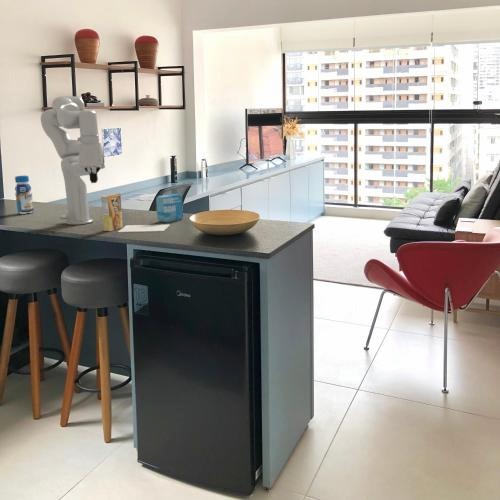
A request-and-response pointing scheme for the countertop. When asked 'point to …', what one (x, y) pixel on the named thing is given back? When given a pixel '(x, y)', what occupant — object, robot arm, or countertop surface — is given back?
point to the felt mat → (144, 228)
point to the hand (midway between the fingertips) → (94, 182)
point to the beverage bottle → (23, 194)
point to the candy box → (111, 212)
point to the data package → (169, 208)
